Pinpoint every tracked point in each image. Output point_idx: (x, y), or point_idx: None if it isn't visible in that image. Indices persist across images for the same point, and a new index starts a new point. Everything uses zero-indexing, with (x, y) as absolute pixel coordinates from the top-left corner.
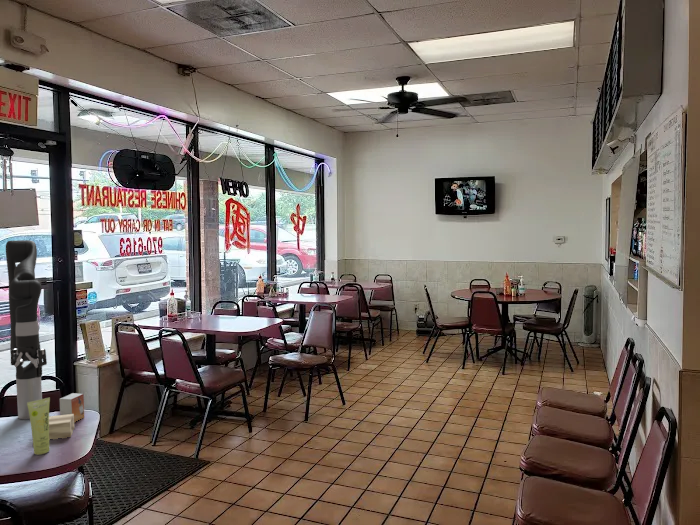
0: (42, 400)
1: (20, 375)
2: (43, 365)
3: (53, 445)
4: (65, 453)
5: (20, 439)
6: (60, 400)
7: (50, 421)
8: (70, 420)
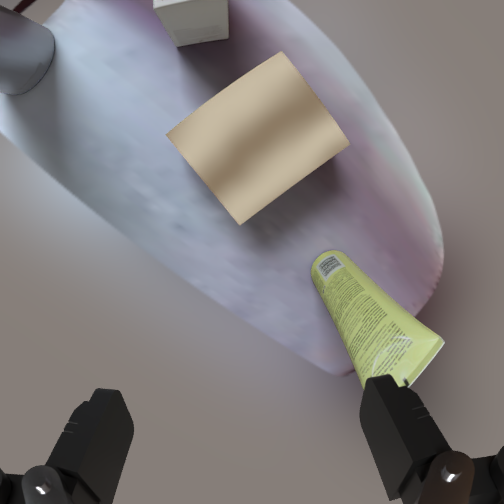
0: (419, 367)
1: (124, 418)
2: (483, 457)
3: (325, 217)
4: (398, 251)
5: (168, 215)
6: (161, 11)
7: (259, 159)
8: (336, 125)
